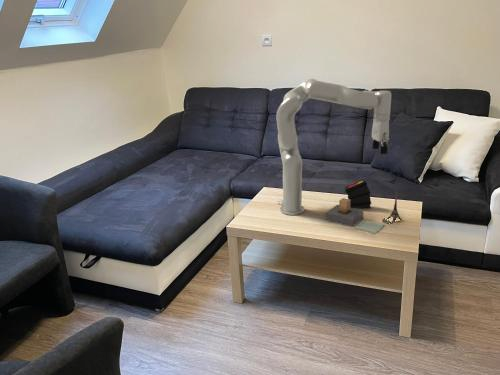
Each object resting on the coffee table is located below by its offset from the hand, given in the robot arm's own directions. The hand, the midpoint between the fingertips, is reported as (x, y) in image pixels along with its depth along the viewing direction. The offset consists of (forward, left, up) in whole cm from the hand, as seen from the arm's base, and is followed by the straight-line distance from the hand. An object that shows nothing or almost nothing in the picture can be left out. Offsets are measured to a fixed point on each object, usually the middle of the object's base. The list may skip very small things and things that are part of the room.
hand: (379, 151), depth 213 cm
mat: (+7, -24, -30) cm, 39 cm away
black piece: (-8, -5, -30) cm, 32 cm away
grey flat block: (-7, -22, -30) cm, 38 cm away
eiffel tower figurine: (+13, -10, -31) cm, 35 cm away
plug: (-7, -22, -30) cm, 38 cm away
